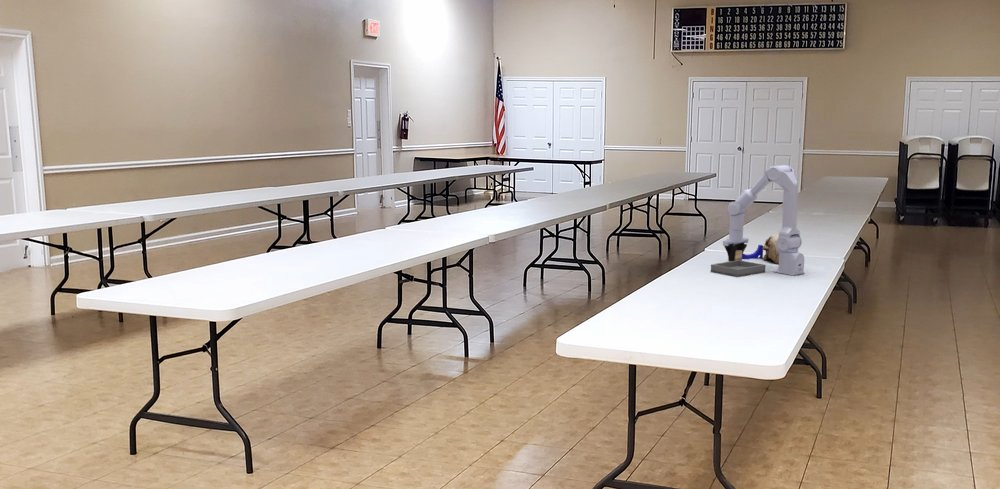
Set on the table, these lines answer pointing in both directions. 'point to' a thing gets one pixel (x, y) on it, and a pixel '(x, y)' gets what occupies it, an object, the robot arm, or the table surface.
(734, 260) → the maple block
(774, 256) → the coin bank
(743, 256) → the cable clip
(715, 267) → the tray
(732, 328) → the table surface
